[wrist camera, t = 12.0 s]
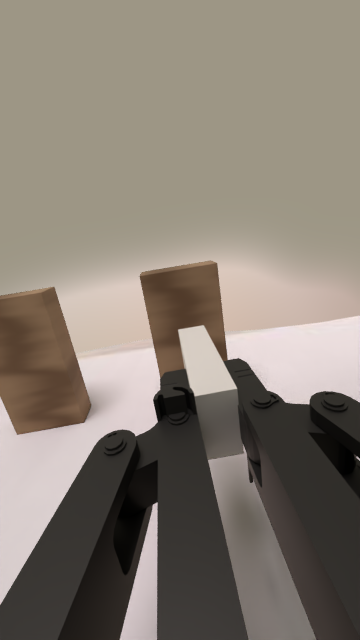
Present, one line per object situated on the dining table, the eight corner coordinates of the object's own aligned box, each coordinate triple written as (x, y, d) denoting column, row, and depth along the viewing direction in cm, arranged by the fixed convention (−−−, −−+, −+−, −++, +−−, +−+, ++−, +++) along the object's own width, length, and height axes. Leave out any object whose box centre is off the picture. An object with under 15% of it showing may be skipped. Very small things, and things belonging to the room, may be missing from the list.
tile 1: (224, 380, 26) (210, 260, 22) (231, 395, 23) (217, 263, 19) (165, 390, 26) (141, 271, 22) (166, 407, 23) (139, 276, 19)
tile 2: (91, 404, 25) (55, 286, 22) (84, 422, 23) (41, 292, 19) (31, 414, 25) (-16, 298, 21) (17, 434, 23) (-40, 305, 19)
